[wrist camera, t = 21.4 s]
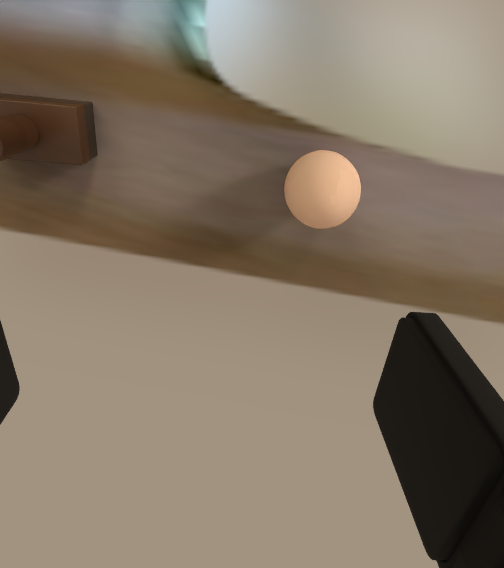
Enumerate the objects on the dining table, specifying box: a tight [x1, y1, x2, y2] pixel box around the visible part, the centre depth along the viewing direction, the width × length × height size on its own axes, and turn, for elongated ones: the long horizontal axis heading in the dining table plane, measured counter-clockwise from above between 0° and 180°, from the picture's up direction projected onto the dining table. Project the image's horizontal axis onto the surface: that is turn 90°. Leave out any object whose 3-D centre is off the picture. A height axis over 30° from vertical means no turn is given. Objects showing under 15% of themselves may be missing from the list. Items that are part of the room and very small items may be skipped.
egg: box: [284, 150, 361, 229], centre depth 30 cm, size 6×6×8 cm
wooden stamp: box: [0, 93, 97, 165], centre depth 27 cm, size 4×8×8 cm, turn 85°
